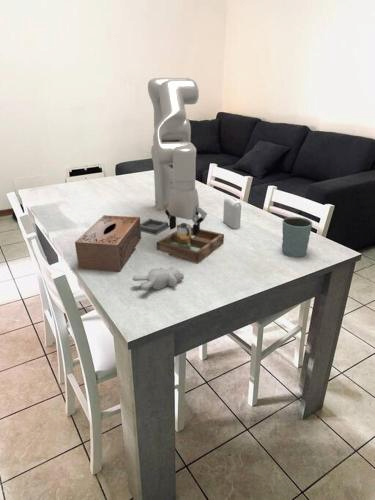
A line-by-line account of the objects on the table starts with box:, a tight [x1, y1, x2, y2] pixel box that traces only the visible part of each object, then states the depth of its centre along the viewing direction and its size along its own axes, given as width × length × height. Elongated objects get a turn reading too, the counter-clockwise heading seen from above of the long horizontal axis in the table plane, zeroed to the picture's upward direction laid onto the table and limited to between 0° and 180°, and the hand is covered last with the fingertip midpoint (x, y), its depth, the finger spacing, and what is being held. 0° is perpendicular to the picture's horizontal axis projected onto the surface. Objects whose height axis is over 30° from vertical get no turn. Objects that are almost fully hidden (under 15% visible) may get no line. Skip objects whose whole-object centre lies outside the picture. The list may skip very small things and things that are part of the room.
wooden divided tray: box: [156, 226, 225, 264], centre depth 136 cm, size 20×17×4 cm
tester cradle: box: [140, 218, 170, 236], centre depth 153 cm, size 12×12×2 cm
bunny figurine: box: [132, 267, 185, 291], centre depth 111 cm, size 10×5×15 cm
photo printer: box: [222, 195, 242, 230], centre depth 155 cm, size 10×4×12 cm, turn 20°
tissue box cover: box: [74, 214, 142, 273], centre depth 131 cm, size 26×14×10 cm, turn 171°
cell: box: [176, 222, 192, 250], centre depth 131 cm, size 5×5×10 cm
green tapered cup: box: [281, 216, 313, 258], centre depth 131 cm, size 10×10×12 cm
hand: (184, 231), depth 130 cm, fingers open, 9 cm apart
